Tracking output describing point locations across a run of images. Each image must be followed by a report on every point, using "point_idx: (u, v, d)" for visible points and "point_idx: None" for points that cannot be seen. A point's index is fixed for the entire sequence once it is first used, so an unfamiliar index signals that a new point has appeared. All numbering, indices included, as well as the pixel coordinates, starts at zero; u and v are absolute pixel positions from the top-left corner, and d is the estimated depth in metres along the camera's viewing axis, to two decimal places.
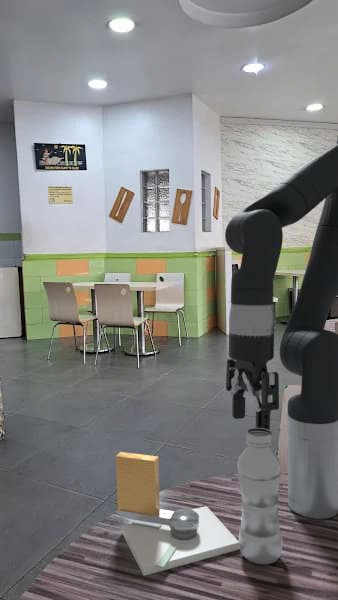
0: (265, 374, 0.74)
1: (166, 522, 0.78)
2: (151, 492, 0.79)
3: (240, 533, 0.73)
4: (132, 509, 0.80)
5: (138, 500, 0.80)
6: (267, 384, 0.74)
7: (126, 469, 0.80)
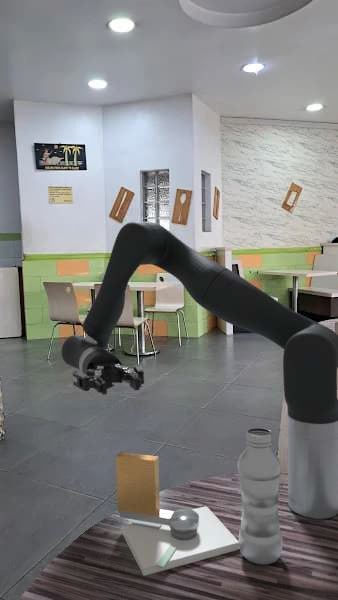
0: None
1: (166, 522, 0.78)
2: (151, 492, 0.79)
3: (240, 533, 0.73)
4: (132, 509, 0.80)
5: (138, 500, 0.80)
6: (75, 384, 0.89)
7: (126, 469, 0.80)
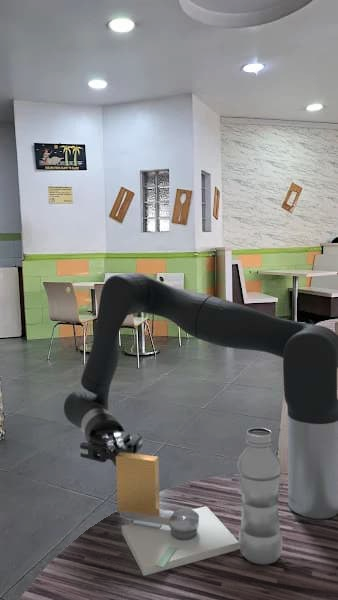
0: (80, 455, 0.91)
1: (166, 522, 0.78)
2: (151, 492, 0.79)
3: (240, 533, 0.73)
4: (132, 509, 0.80)
5: (138, 500, 0.80)
6: (86, 456, 0.90)
7: (126, 469, 0.80)
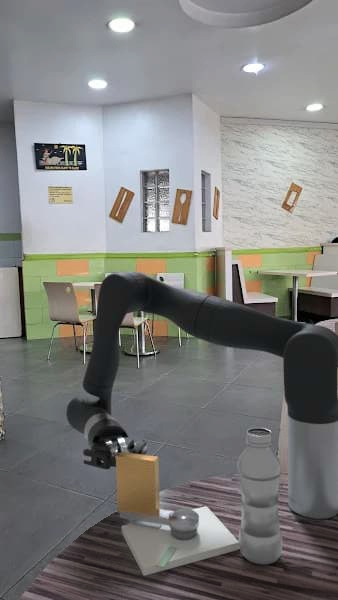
0: None
1: (166, 522, 0.78)
2: (151, 492, 0.79)
3: (240, 533, 0.73)
4: (132, 509, 0.80)
5: (138, 500, 0.80)
6: (89, 462, 0.88)
7: (126, 469, 0.80)
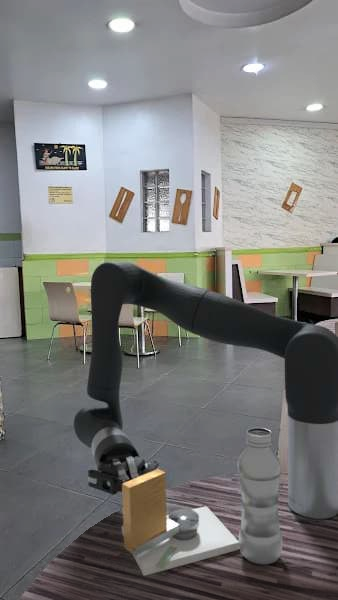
0: (88, 484, 0.79)
1: (177, 530, 0.76)
2: (162, 508, 0.74)
3: (240, 533, 0.73)
4: (145, 538, 0.72)
5: (151, 524, 0.72)
6: (94, 485, 0.78)
7: (140, 497, 0.71)
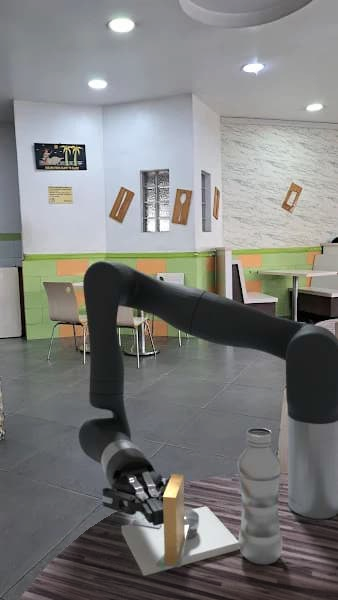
0: (103, 504, 0.73)
1: (188, 530, 0.76)
2: (183, 511, 0.73)
3: (240, 533, 0.73)
4: (180, 547, 0.70)
5: (181, 531, 0.71)
6: (110, 505, 0.72)
7: (178, 504, 0.68)
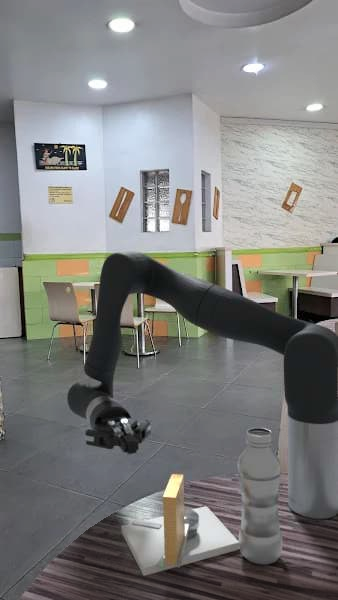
0: (86, 443, 0.86)
1: (188, 530, 0.76)
2: (183, 511, 0.73)
3: (240, 533, 0.73)
4: (180, 547, 0.70)
5: (181, 531, 0.71)
6: (92, 443, 0.85)
7: (178, 504, 0.68)
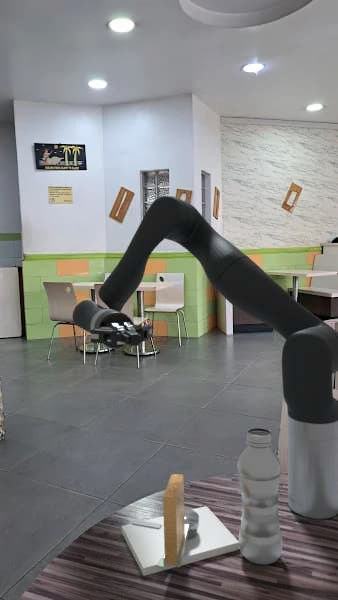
0: (91, 341, 0.91)
1: (188, 530, 0.76)
2: (183, 511, 0.73)
3: (240, 533, 0.73)
4: (180, 547, 0.70)
5: (181, 531, 0.71)
6: (96, 340, 0.90)
7: (178, 504, 0.68)
